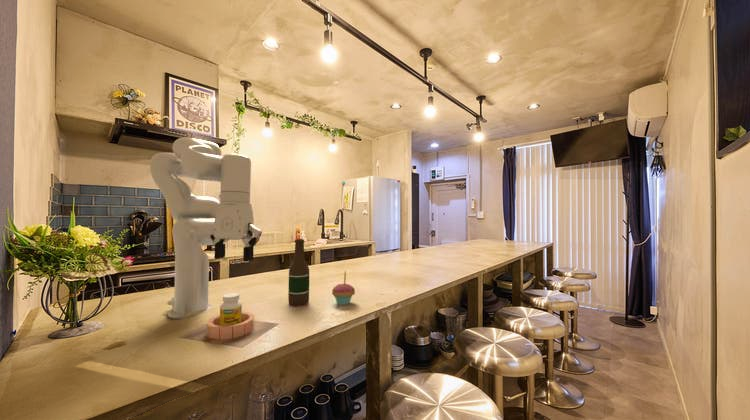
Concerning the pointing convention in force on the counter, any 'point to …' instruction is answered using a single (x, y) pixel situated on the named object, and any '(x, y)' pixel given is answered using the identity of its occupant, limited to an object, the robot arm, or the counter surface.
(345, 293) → the cupcake
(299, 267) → the beer bottle
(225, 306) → the supplement bottle
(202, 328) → the grey flat pad
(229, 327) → the terracotta holder
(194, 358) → the counter surface
